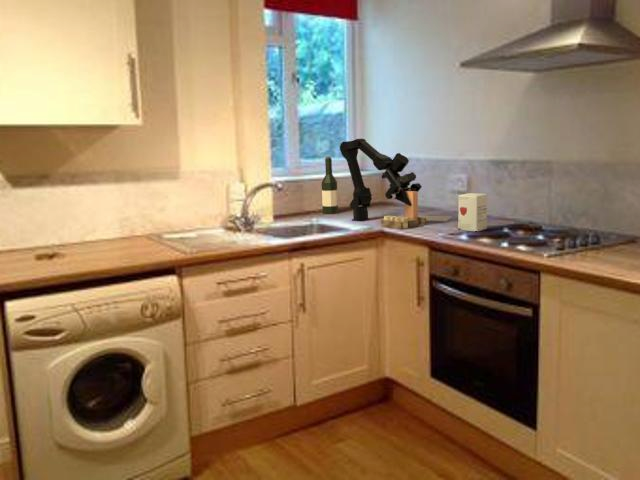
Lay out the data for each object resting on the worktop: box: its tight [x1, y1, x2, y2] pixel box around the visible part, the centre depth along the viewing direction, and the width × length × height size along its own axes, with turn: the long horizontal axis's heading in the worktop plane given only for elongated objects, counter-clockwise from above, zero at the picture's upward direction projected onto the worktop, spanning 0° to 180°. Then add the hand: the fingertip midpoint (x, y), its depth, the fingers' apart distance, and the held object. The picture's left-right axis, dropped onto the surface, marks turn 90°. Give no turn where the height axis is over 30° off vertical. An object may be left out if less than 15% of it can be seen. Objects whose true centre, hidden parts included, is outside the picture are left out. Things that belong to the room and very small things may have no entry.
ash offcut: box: [383, 215, 398, 221], centre depth 267 cm, size 5×3×4 cm, turn 39°
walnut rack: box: [381, 217, 427, 230], centre depth 268 cm, size 12×16×4 cm
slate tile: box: [418, 215, 453, 223], centre depth 284 cm, size 20×14×2 cm
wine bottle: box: [321, 156, 339, 215], centre depth 324 cm, size 8×8×30 cm
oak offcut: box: [395, 216, 409, 230], centre depth 262 cm, size 5×3×4 cm, turn 39°
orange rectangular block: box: [404, 191, 419, 219], centre depth 270 cm, size 5×3×12 cm, turn 39°
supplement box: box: [457, 192, 488, 232], centre depth 256 cm, size 9×9×15 cm
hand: (413, 205), depth 269 cm, fingers closed on orange rectangular block, 3 cm apart
